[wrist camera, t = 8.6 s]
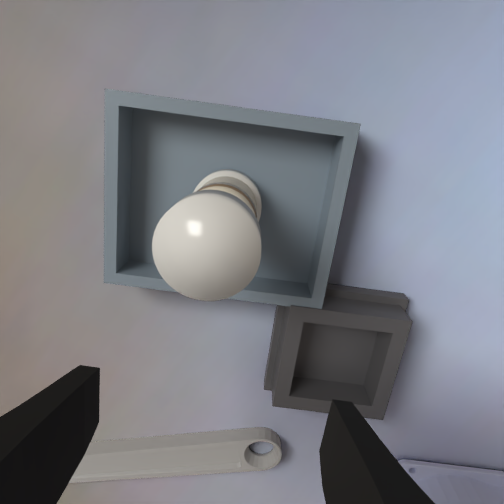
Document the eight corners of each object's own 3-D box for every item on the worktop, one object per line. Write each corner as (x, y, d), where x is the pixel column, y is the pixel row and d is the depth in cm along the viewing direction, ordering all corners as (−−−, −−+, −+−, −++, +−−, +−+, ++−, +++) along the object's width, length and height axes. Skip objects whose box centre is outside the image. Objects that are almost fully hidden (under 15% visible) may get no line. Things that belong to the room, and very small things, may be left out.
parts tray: (348, 124, 19) (360, 123, 16) (314, 290, 21) (321, 310, 19) (125, 93, 18) (104, 88, 16) (121, 265, 21) (103, 282, 19)
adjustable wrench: (279, 418, 25) (281, 439, 23) (280, 490, 27) (282, 514, 25) (-88, 424, 26) (-112, 445, 24) (-60, 494, 28) (-80, 518, 26)
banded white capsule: (265, 173, 19) (268, 204, 11) (257, 238, 20) (254, 306, 12) (197, 164, 19) (153, 190, 11) (193, 230, 20) (150, 294, 12)
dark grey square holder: (403, 293, 21) (422, 315, 19) (375, 394, 24) (388, 426, 21) (281, 277, 21) (284, 297, 19) (264, 381, 23) (264, 411, 21)
